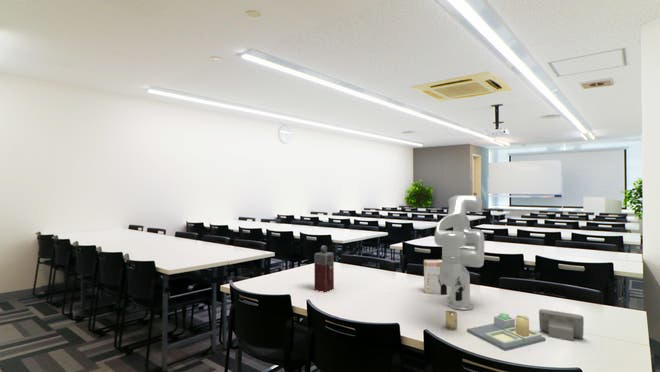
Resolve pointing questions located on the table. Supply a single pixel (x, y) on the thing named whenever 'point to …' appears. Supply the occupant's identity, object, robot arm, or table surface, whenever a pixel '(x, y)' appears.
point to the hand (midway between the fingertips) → (451, 297)
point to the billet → (451, 320)
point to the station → (508, 333)
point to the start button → (504, 316)
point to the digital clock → (561, 324)
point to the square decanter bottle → (324, 270)
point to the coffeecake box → (433, 277)
